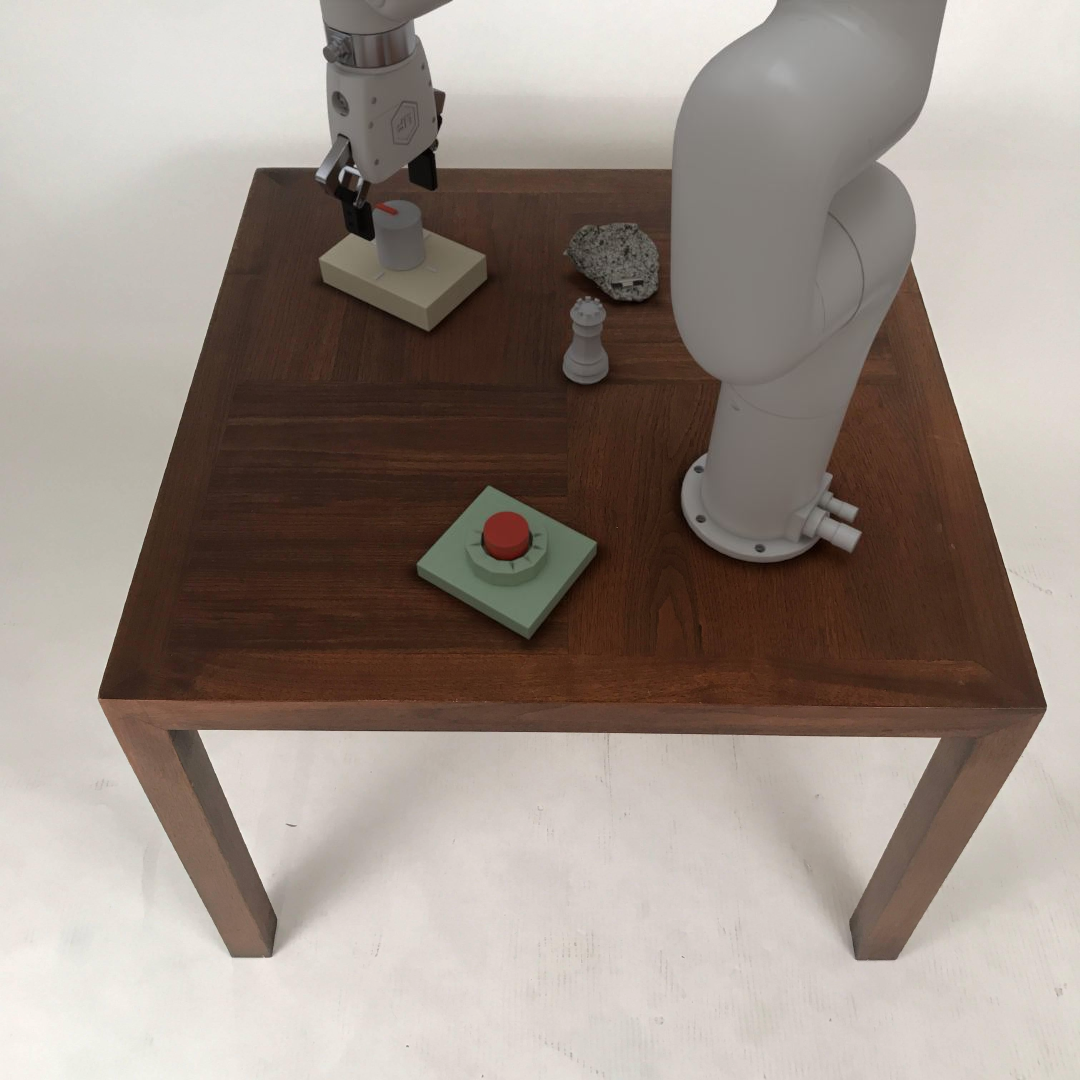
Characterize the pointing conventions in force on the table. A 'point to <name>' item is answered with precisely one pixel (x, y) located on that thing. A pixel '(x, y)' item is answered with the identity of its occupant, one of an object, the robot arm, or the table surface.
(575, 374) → the rook chess piece
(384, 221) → the knob
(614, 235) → the rock sample
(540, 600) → the button block
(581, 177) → the table surface
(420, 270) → the panel
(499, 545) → the button
